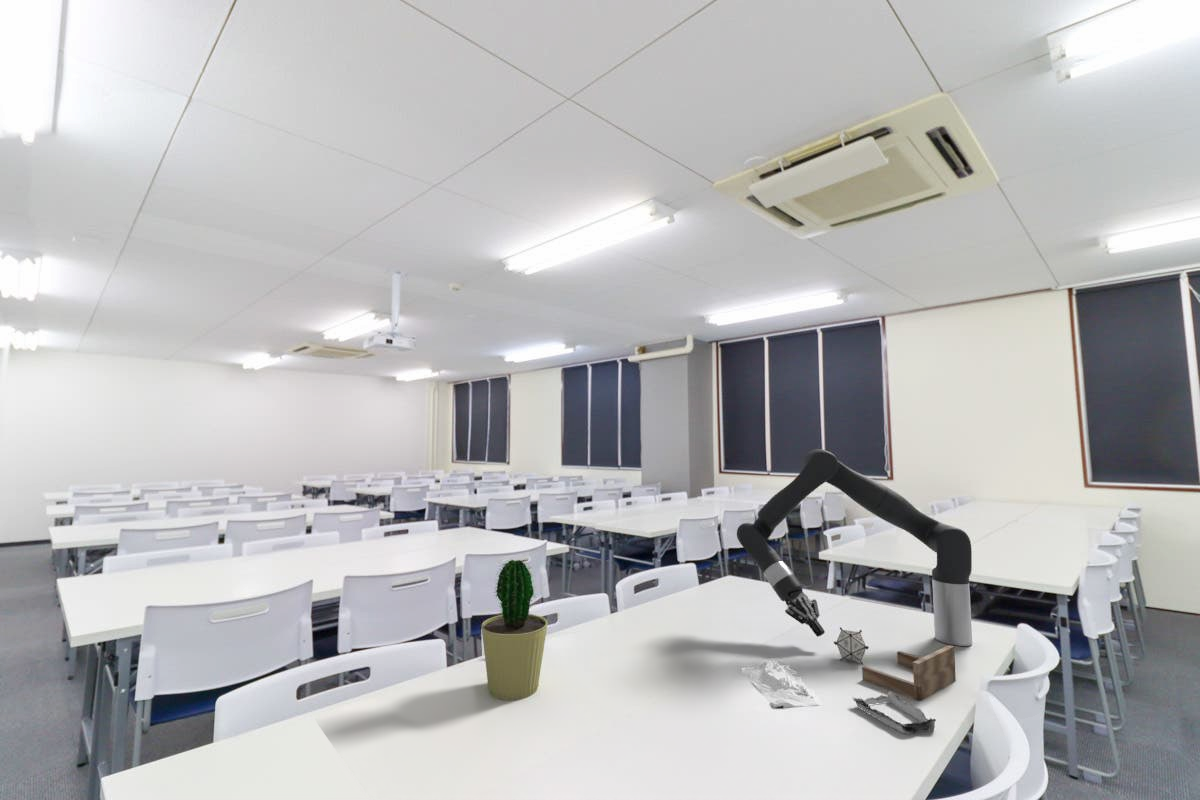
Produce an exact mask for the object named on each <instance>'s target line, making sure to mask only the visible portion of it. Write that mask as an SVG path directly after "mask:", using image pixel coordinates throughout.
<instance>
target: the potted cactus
mask: <svg viewBox="0 0 1200 800" xmlns="http://www.w3.org/2000/svg"><path fill="white" fill-rule="evenodd" d="M501 567H502V569H499V570H497V573H498V572H499V574H497V577H498V579H496V581H494V582H495V583H496V588H494V592H493V593H495V595H493V596H494V598H497V599H498V603H500V606H499V607H500V610H499V611H498V613H499V614H500V615H496V616H493V617H490V618H488V619H486V620H484V621H483V622H482V624H481V625H480V626H481V636H482V643H483V645H482V646H483V650H484V651H483V652H484V653H483V654H484V660H485V669H486V678H487V687H488V692H489V694H490V695H491V696H492V697H494V698H495V699H499V700H504V701H515V700H521V699H526V698H528V697H531V696H532V695H534V694H535V693H536V692H537V690H538V688H539V683H540V676H541V669H542V662H543V656H544V650H545V643H546V636H547V635H546V634H547V631H548V630H547V629H548V624H549V623H548V622H549V621H548V620H547V618H545V617H544V616H540V615H536V614H532V613H530V608H531V609H532V606H531V602H533V600H532V598H535V599H536V596H534V595H536V593H535V589H536V587H538V586H536V587H534V586H533V580H532V577H533V575H532V572H531V571H530V569H531V568H532V566H531V567H530V566H529V565H527V563H526V562H525V559H523V560H520V559H517V560H514V559H511V558H510V560H508V561H507V562H505V563H504V564H503V565H501Z"/></svg>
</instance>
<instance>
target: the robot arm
mask: <svg viewBox="0 0 1200 800" xmlns="http://www.w3.org/2000/svg"><path fill="white" fill-rule="evenodd" d="M802 462H803V466H804V467H803V469H802V470H801V471H800V472H799V474H798V475H797V476H796V477H795V478H794V479H793V480H792V481H791V482H790V483H789V484H787V485H786V486H785V487H784V488H782V489H781V490H780V491H778V492H777V493H775V494H774V496H772V497H771V498H770V499H769V500H768V501H767V502H766V503H765V504H764V505H763V506H762V507H761V508H760V509H759V511H758V513H757V519H756V520H755V521H754V522H753V523H749V522H744V523H741V524H740V525H739V526H738V527H737V530H736V538H737V540H738V542H739V544H740V545H741V546H742V547H743V549H745V551H746V552H747V553H748V554H749V556H751V558H752V559H753V560H754V561H755V562H756V564H757V566H758V568H759V570H761V572H762V573H763V575H764V576H765V578H766V581H767V582H768V583H769V585H770V586H771V588H772V589H773V591H774V592H775V593H776V595H777V596H778V598H779V599H780V600H781V601H782V602H785V605H786V606H787V608H786V609H785V613H786V614H787V615H788V616H790V617H791V618H793V619H794V620H796V621H797V622H799V623H800V624H801V625H804V624H806V626H808V627H810V630H812V632H813V633H814V635H815V636H816V637H821V636H823V635H824V634H825V630H824V628H823V626H822V625H821V623H820V622H819V620H818V618H819V617H820V615H821V614H820V612H819V605H818V602H817V600H816V599H815V598H814V599H810V598H809V597H808V596H807V595H806V594H805V592H803V589H804V587H803V584H802V583H801V582H800V581H799V579H798V578H797V577H796V575H795V574H794V573H793V571H792V570H791V568H790V567H789V566H788V565H787V564H786V562H784V560H783V559H782V558H781V556H780V555H779V554H778V552H777V551H776V550H775V549H774V548H773V547H772V546H770V545H769V544H768V543H767V541H768V540H769V538H770V537H771V535H772V534H773V532H775V530H776V528H777V527H778V526H779V525H780V523H782V522H783V521H785V519H786V518H787V517H788V516H789V515H790V514H791V513H792V512H793V510H795V508H797V506H799V504H801V503H802V502H803V500H805V499H806V498H807V497H808V496H810V494H811V493H813V492H814V491H815V490H816V489H818V488H819V487H820V486H822V485H823V484H824V483H827V484H829V485H831V486H833V487H835V488H836V489H838V490H840V491H841V492H842V493H844V494H845V495H846V496H848V498H850V499H851V500H853V501H854V502H855V503H857V504H858V506H859V505H860V507H862V508H864V509H865V510H867V511H868V512H870V513H872V514H873V515H874V516H877V517H878V518H879V519H881V520H883V521H885V522H887V523H889V524H890V525H893V526H895V527H897V528H900V529H902V530H904V531H906V532H907V533H909V534H910V535H912V536H914V538H916V539H917V540H918V541H920V542H921V543H923V544H924V545H925V546H926V547H928V548H929V549H930V550H931V551H933V552H934V553H935V554H936V566H935V567H934V568H932V571H931V578H932V579H931V580H932V581H931V582H932V601H933V603H932V604H933V623H934V638H935V640H937V641H938V642H941V643H943V644H948V645H950V646H961V647H966V646H967V647H968V646H972V645H973V633H972V632H973V630H972V629H973V628H972V613H971V593H970V591H971V590H970V576H971V574H972V570H973V568H972V566H973V565H972V562H973V561H972V558H973V557H972V552H973V551H972V543H971V539H970V537H969V535H968V533H966V532H965V530H962V529H961V528H959V527H955V526H953V525H949V524H945V523H942V522H940V521H938V520H936V519H935V518H932V517H930V516H929V515H926V514H925V513H923V512H921V511H919V509H917V508H916V507H915V506H914V505H913V504H912V503H911V502H909V501H908V500H907V499H906V498H905V497H903V496H902V495H901V494H899V493H898V492H896V491H895V490H893V489H892V488H889V487H888V486H886V485H884V484H882V483H881V482H879V481H877V480H874V479H873V478H871V477H869V476H867V475H864V474H862V473H860V472H858V471H855V470H853V469H851V468H850V467H848V466H847V465H845V464H843V462H841V461H839V460H838V459H837V456H835V454H833V453H832V452H831V451H828V450H825V449H822V448H814V449H811V450H810V451H807V453H806V454H805V455H804V456H803V461H802Z"/></svg>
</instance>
